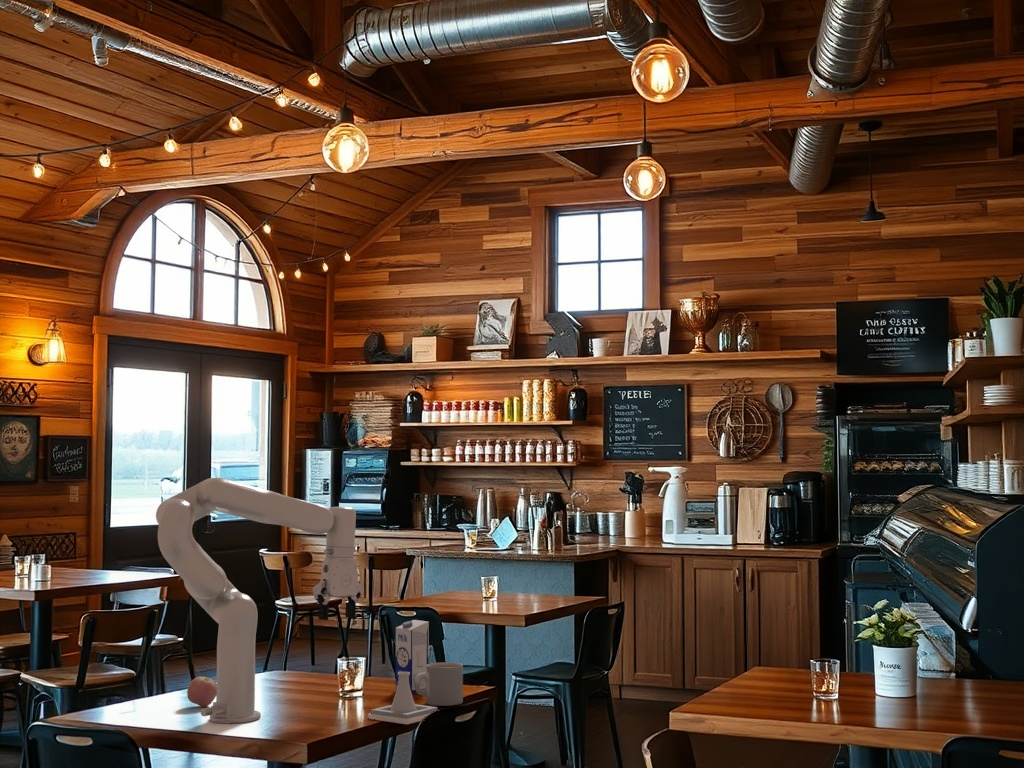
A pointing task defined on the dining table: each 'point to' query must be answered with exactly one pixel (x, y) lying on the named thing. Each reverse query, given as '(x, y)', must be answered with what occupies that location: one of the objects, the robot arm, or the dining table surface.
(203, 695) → the apple
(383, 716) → the socket board
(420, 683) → the milk carton
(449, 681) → the coffee mug
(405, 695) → the flask
